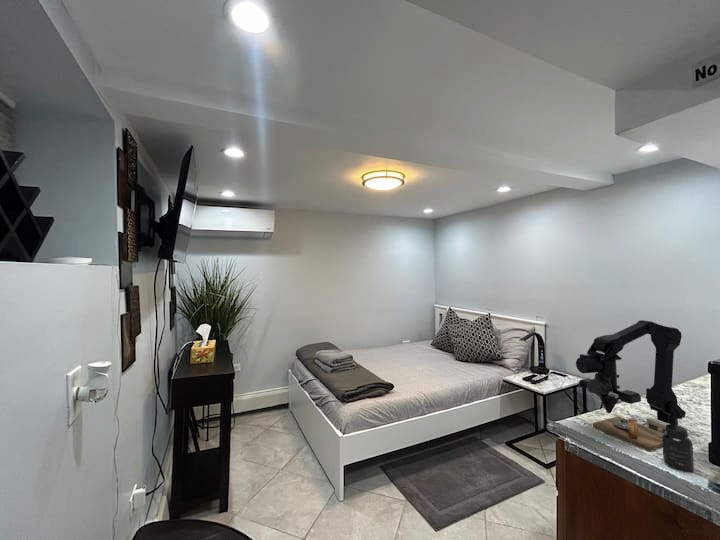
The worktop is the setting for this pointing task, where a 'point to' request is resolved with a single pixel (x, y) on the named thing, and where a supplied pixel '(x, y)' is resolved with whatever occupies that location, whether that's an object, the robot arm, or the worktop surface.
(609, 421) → the stand
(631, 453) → the worktop surface
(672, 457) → the supplement bottle
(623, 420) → the cam lever
